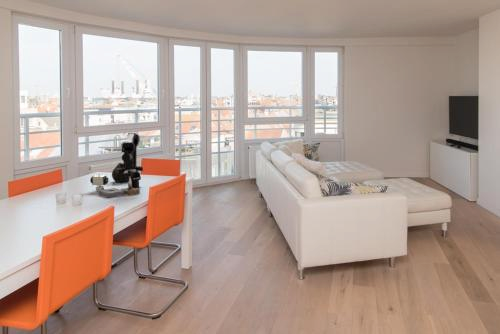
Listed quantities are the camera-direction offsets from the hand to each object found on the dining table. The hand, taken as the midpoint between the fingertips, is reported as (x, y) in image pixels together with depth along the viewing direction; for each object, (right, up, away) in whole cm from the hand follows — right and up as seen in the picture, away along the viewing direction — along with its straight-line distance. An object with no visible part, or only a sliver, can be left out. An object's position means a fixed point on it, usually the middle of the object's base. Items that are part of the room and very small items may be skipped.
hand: (129, 181), depth 301 cm
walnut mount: (0, -8, +1) cm, 8 cm away
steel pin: (0, -5, +1) cm, 4 cm away
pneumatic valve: (-24, -7, +10) cm, 27 cm away
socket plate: (-12, -9, -3) cm, 15 cm away
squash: (-18, -2, +43) cm, 47 cm away
